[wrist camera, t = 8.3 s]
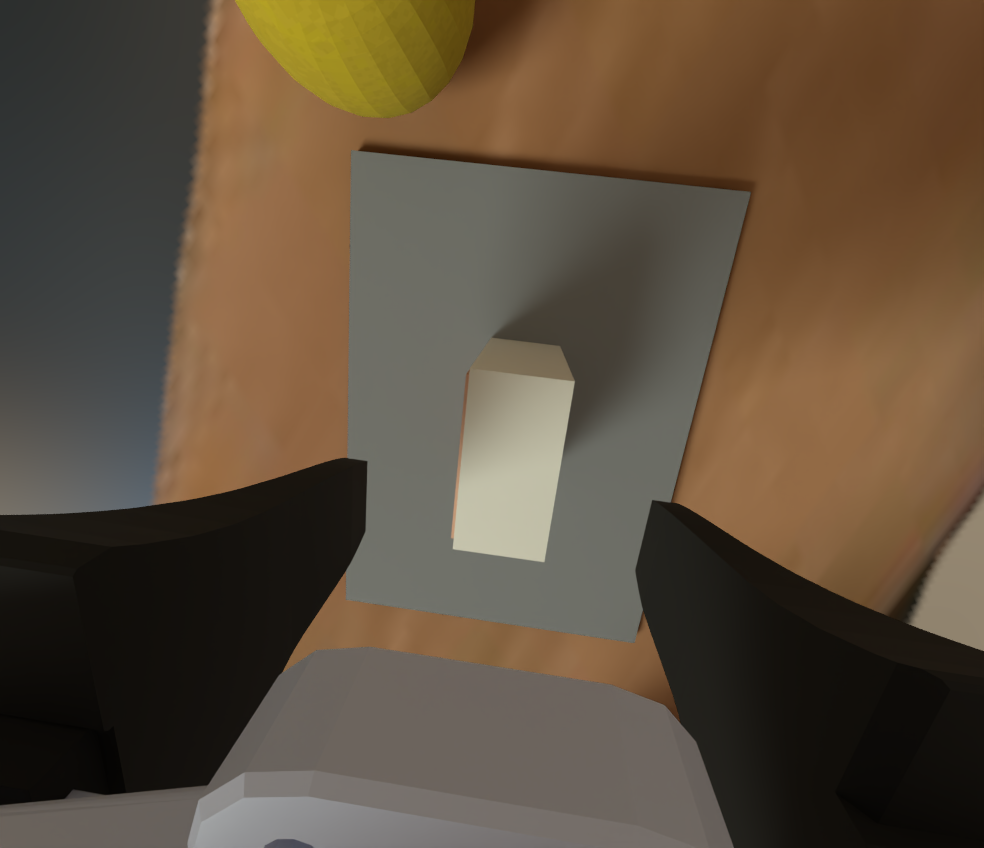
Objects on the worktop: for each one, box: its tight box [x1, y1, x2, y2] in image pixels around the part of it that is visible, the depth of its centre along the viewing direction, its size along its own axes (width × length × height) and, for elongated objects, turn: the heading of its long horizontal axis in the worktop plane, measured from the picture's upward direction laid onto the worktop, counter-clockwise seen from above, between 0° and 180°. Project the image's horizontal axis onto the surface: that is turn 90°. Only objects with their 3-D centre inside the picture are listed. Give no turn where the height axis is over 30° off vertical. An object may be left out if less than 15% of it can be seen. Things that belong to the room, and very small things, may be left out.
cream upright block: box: [451, 338, 575, 562], centre depth 14 cm, size 3×5×6 cm, turn 174°
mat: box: [346, 150, 751, 643], centre depth 18 cm, size 18×13×1 cm
